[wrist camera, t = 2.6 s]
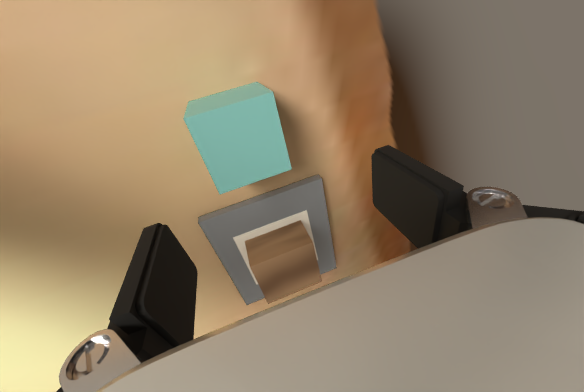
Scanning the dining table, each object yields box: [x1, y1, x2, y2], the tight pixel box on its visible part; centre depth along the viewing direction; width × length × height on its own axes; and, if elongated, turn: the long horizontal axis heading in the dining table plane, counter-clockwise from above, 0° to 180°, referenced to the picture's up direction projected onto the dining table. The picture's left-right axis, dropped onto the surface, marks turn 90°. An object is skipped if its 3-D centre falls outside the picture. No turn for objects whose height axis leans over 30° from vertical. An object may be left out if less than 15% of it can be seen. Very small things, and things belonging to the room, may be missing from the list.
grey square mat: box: [198, 175, 336, 305], centre depth 31 cm, size 16×14×1 cm
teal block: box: [184, 82, 292, 194], centre depth 20 cm, size 6×6×6 cm
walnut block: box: [245, 220, 322, 304], centre depth 29 cm, size 7×7×4 cm
